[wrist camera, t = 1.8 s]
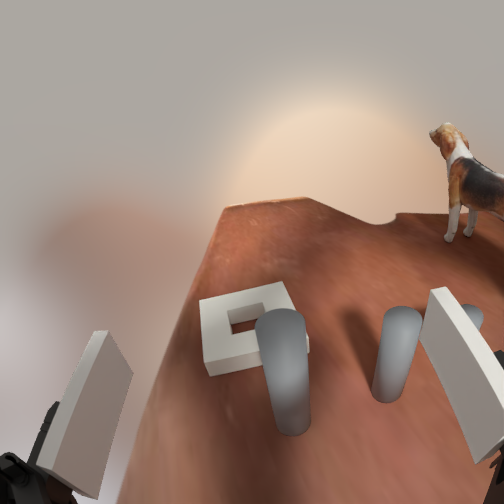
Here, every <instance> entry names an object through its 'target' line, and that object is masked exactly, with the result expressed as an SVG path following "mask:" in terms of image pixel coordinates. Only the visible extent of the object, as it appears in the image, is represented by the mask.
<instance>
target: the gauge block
mask: <svg viewBox="0 0 504 504" xmlns="http://www.w3.org/2000/svg"><path fill="white" fill-rule="evenodd" d="M199 302H200V318H201V332H202V345H203V357H204V364H205V366H206V369H207V371H208V374H209V376H210V377H211V376H216V375H220V374H225V373H230V372H235V371H239V370H244V369H248V368H252V367H256V366H261V365H263V364H262V360H261V355H260V351H259V346H258V342H257V337H256V333H255V329H254V330H250V331H246V332H241V333H237V334H233V333H232V328H231V325H232V324H236V323H240V322H245V321H249V320H253V319H257V318H259V317H260V316H261V315H263V314H264V313H266V312H268V311H270V310H273V309H279V308H288V309H293V310H295V311H296V309H295V307H294V305H293V303H292V301H291V299H290V297H289V295H288V292H287V290H286V288H285V286H284V284H283V282H282V281H280V282H276V283H272V284H268V285H264V286H260V287H256V288H251V289H247V290H243V291H239V292H234V293H230V294H226V295H221V296H217V297H212V298H208V299H203V300H199ZM306 340H307V353H310V352H309V337H308V335H307V333H306Z"/></svg>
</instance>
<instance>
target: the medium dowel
mask: <svg viewBox="0 0 504 504" xmlns="http://www.w3.org/2000/svg"><path fill="white" fill-rule="evenodd" d="M421 326H422V317H421V315H420V313H419V312H418V311H416V310H415V309H413V308H410V307H407V306H397V307H393V308H391V309H389V310H388V311H387V312H386V313H385V315H384V319H383V326H382V333H381V339H380V345H379V351H378V357H377V363H376V368H375V373H374V378H373V383H372V388H371V393H372V395H373V397H374V398H375V399H376V400H377V401H379V402H382V403H391V402H394V401H396V400H397V399H398V398H399V397H400V396H401V394H402V391H403V388H404V385H405V382H406V379H407V376H408V373H409V369H410V366H411V363H412V360H413V356H414V353H415V349H416V346H417V342H418V338H419V334H420V330H421Z"/></svg>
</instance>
